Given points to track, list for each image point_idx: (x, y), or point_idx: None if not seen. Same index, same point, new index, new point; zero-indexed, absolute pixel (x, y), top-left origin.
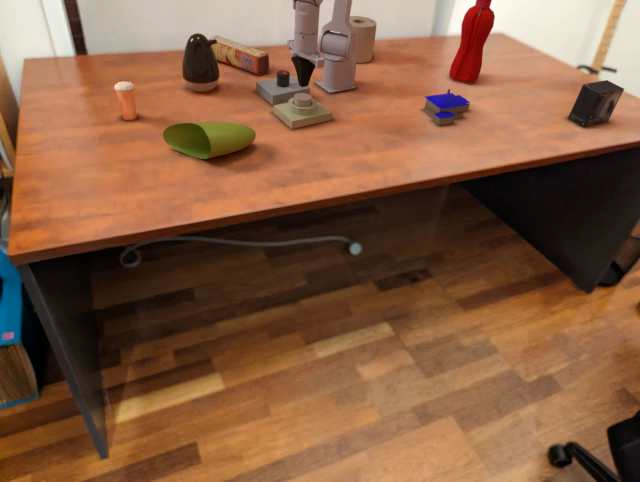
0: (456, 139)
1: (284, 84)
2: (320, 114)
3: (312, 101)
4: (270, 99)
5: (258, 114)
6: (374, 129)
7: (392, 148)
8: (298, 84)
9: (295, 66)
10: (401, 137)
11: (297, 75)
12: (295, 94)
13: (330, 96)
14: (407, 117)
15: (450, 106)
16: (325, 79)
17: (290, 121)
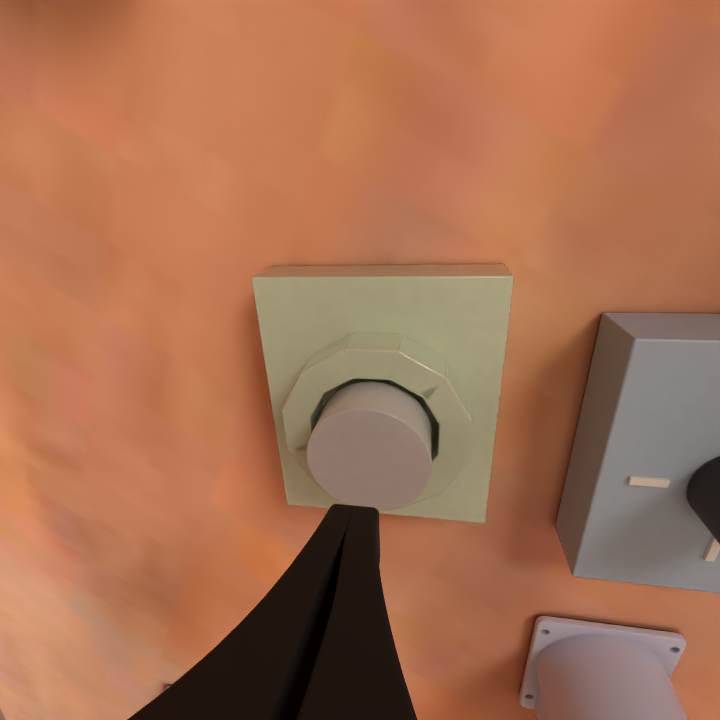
0: (89, 662)
1: (707, 488)
2: (283, 454)
3: None
4: (652, 322)
5: (543, 152)
6: (183, 553)
7: (49, 517)
8: (665, 559)
9: (362, 688)
10: (116, 578)
11: (365, 579)
12: (419, 440)
13: (512, 599)
14: None
15: None
16: (616, 680)
17: (276, 274)
